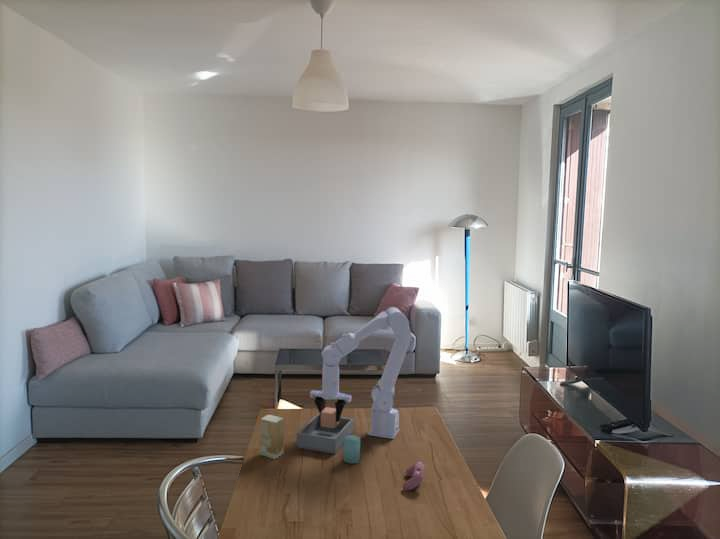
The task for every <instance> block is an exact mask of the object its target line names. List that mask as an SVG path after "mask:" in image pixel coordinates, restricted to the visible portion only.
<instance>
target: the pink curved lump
mask: <svg viewBox="0 0 720 539" xmlns="http://www.w3.org/2000/svg"><path fill="white" fill-rule="evenodd" d="M425 468H426V464H425V463H424V462H422V461H417V462H415V463H414V464H413V465H412V466H411V465H410V466H409V467H408V468H406V470H405V475H406V476H407V477H410V478H409V479H408V480H406V481H405V482H404V483H403V484H402V489H403V490H404V491H411V490H414V489H415V488H417V487H418V486H419V485H420V484H421V483H422V484H423V483H424V480H425V479H424V471H425Z"/></svg>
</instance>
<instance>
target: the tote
mask: <svg viewBox="0 0 720 539" xmlns="http://www.w3.org/2000/svg"><path fill="white" fill-rule="evenodd" d="M354 423H355V419H354V418H350V417H343V416H341V417H340V420H339V424H338V425H337V426H336V427H335V428H328V427H321V417H320V413H317V414H316V415H314V416H313V418H311V419H310V420H309V421H308V422H307V423H306V424H305V425H304V426H303V427H302V428H300V429H299V430H298V431H297V433H296V448H297V447H298V448H297V449H302V448H303V449H302V450H308V451H315V452H321V453H327V454H333V455H336V454H338V452H339V451H340V449H341V448H342V447H344V438H345V437H346V436H349V435H354V430H355V427H354V425H355V424H354Z"/></svg>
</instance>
